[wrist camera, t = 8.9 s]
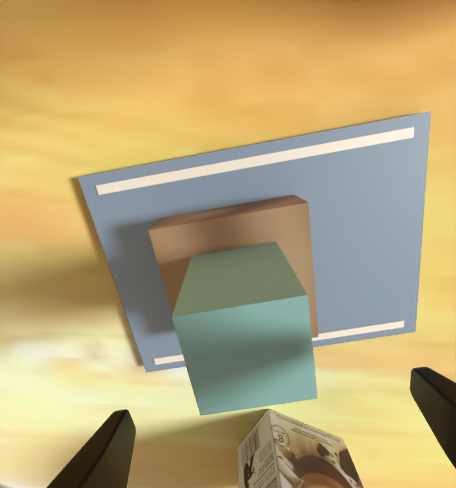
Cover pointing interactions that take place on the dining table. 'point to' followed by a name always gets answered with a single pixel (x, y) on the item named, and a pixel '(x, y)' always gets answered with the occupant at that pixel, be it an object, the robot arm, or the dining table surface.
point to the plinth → (236, 240)
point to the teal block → (245, 330)
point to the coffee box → (293, 457)
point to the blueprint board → (320, 213)
